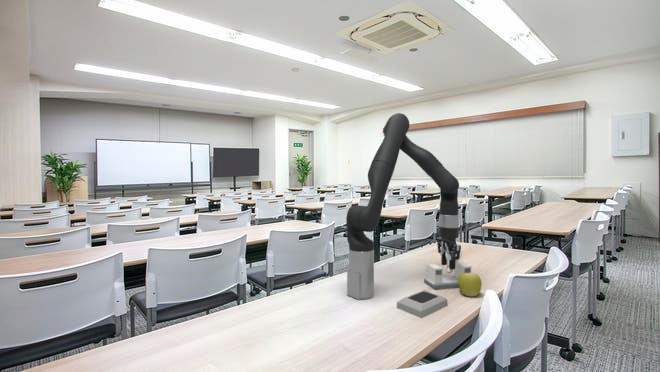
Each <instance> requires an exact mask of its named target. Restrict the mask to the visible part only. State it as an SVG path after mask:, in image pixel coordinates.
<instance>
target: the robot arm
mask: <svg viewBox="0 0 660 372" xmlns="http://www.w3.org/2000/svg"><path fill="white" fill-rule="evenodd" d="M409 129H410V120H409V118H408V117H407V116H406V115H405V114H404V113H399V112H398V113H394V114H392V115H391V116H390V117H389V118H388V120H387V121H386V123H385V125H384V127H383V130H382V133H383V136H384V138H383V139H382V142H381V144H380V146H379V147H378V149H377V150H376V153H375V154H374V156H373V158H372V161H371V163H370V166H369V168H368V172H367V181H368V185H369V188H370V197H369V198H370V199H369V200H368V203H367V206H366V205H358V204H357V205H352V206H350V207H349V208H348V210H347V211H346V220H345V221H346V225H345V226H346V238H347V239H346V241H347V243H348V269H347V271H346V279H347V280H346V283H347V285H346V286H347V287H346V295H347V296H349V297H352V298H354V299H356V300H359V301H360V300H366V299H367V300H368V299H371V298H373V297H374V296H375V279H374V277H375V243H374V241H373V240H372V239H370V238H369V237H368V236H367V235H366V234H365V232H367V233H372V232H374V231H375V230H376V229H377V227H378V225H379V223H380V218H381V214H382V210H383V206H384V202H385V197H386V194H387V191H388V189H389V185H390V182H391V180H392V178H393V176H394V175H393V174H394V172H395V167H396V165H397V162H398V159H399V154H400V151H402V152H403V153H404V154H406V155H407V157H409V158H410V159H412V160H413V161H414V163H415V164H416V165H418V167H420V169H422V170H423V172H424V173H425V174H426V175H427V176H428V177H430V179H432V180H433V182H434V184H436V185H437V186H438V188H439V189H440V194H439V195H440V201H439V216H438V236H439V238H437V239H436V244H437V245H436V246H437V253H438V254H440V256H441V257H440V258H441V261H440V262H441V265H442V266H447V259H446V256H445V252H446V250H447V254H448V255H449V259H450V260H449V269H451V270H452V269H453V270H454V269H455V261H456V260H459V257H460V251H461V252H462V246H461V245H459V244H457V239H458V238H459V235H460V233H459V231H460V224H459V223H460V220H459V219H460V218H459V201H458V198H459V188H460V182H459V180H458V179H457V178H456V177H455V176H454V175H453V174H452V173H451V172H450V171H449V170H448V169H447V168H446V167H445V166H444V164H443V163H442V162H441V161H440V160H439V159H438V158H437V157H436V156H435V155H434V154H433V153H432V152H431V151H429V150H427V149H426V148H424V147H421V146H419V145H417V144H416V143H415V142H413V141H412V140H411V139H410V138H409V137H408V136H407V133H408V132H409ZM450 251H453V252H450ZM451 254H452V256H451ZM456 254H457V256H456ZM459 261H460V260H459Z"/></svg>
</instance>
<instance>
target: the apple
mask: <svg viewBox="0 0 660 372" xmlns="http://www.w3.org/2000/svg"><path fill="white" fill-rule="evenodd" d="M458 284H459V288H458V289H459V290H460V293H461V294H463V295H464V296H465V297H470V298H471V297H472V298H473V297H476V296H478V295H479V294H480V293H481V289H482V279H481V277H480V276H479V274H477V273H475V272H471V273H462V274H460V276H459V278H458Z"/></svg>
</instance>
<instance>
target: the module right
mask: <svg viewBox="0 0 660 372" xmlns="http://www.w3.org/2000/svg"><path fill="white" fill-rule="evenodd" d="M462 273H472V265H471V264H468V263H465V262H463V261H458V262H457V263H456V265H455V269H453V276H454V277H456V278H459V276H460V274H462Z"/></svg>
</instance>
